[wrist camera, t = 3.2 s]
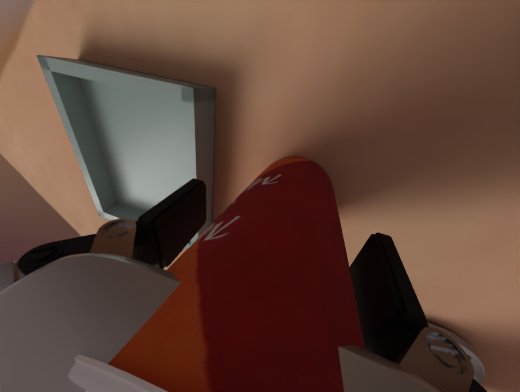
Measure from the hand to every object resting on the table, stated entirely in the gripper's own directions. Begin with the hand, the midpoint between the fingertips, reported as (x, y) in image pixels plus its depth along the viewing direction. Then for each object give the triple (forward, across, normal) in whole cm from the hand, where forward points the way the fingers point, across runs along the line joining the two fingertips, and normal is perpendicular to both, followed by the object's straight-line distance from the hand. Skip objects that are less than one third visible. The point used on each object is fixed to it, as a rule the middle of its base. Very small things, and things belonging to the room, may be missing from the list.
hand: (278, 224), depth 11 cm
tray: (+5, +13, +1) cm, 14 cm away
